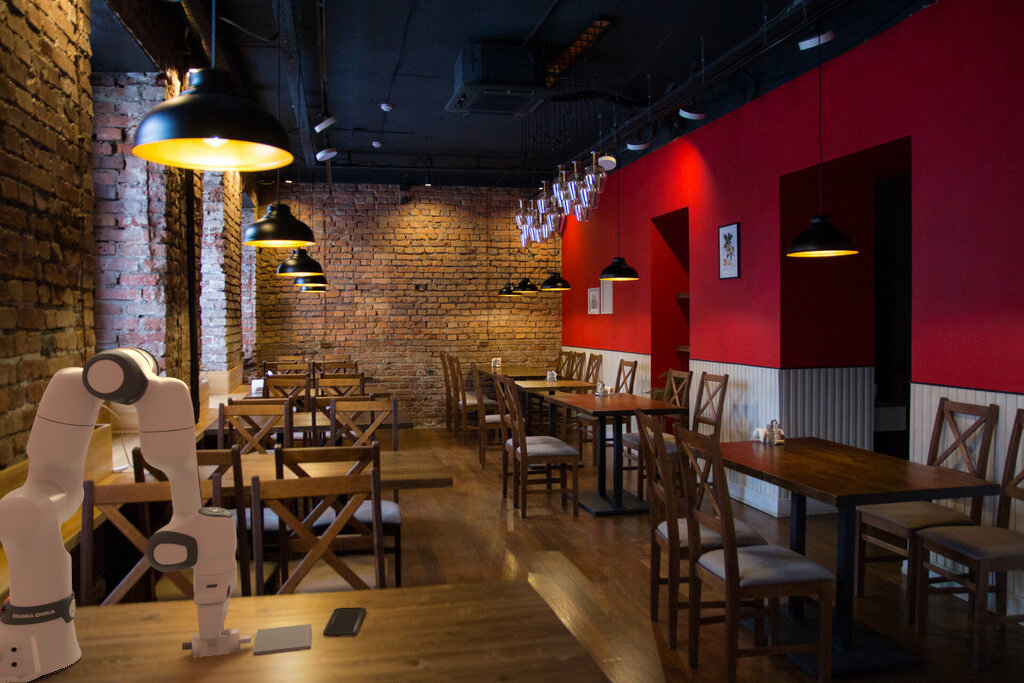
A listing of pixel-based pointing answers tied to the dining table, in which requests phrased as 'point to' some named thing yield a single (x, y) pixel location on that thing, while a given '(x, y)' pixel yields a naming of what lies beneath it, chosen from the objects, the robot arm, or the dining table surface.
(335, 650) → the dining table surface
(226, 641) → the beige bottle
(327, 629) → the phone
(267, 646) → the pad
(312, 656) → the dining table surface
